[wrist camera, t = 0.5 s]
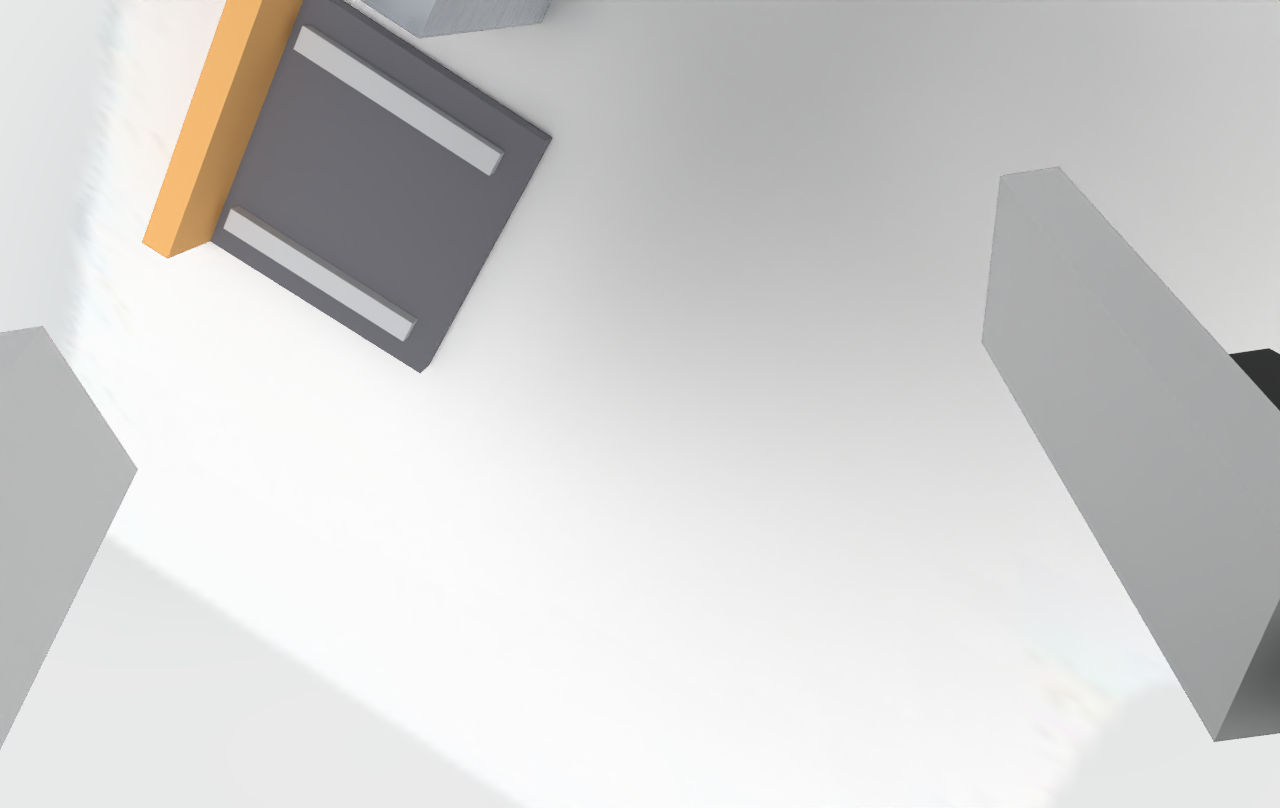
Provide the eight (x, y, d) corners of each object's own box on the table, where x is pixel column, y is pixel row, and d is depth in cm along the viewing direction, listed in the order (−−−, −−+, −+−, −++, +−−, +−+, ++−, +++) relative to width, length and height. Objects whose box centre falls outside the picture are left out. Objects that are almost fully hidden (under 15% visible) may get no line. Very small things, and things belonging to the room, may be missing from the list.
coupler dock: (294, -31, 38) (238, -33, 34) (551, 137, 39) (523, 153, 35) (200, 221, 43) (142, 242, 39) (428, 365, 44) (392, 399, 40)
